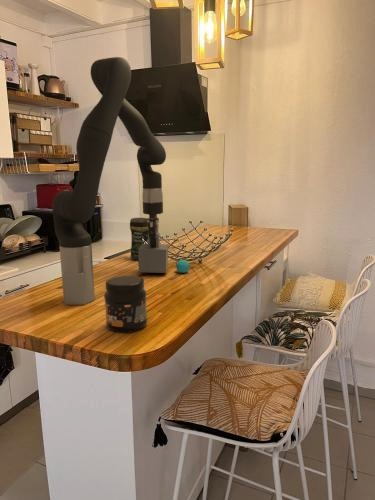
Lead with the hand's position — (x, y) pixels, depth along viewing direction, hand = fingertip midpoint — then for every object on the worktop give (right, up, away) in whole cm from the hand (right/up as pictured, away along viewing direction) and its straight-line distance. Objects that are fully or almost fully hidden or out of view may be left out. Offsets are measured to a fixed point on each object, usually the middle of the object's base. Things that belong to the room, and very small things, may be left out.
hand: (153, 245), depth 149 cm
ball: (+11, -8, +1) cm, 14 cm away
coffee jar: (-7, -6, +25) cm, 27 cm away
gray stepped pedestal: (0, -9, +2) cm, 9 cm away
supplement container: (-3, -21, -49) cm, 53 cm away
